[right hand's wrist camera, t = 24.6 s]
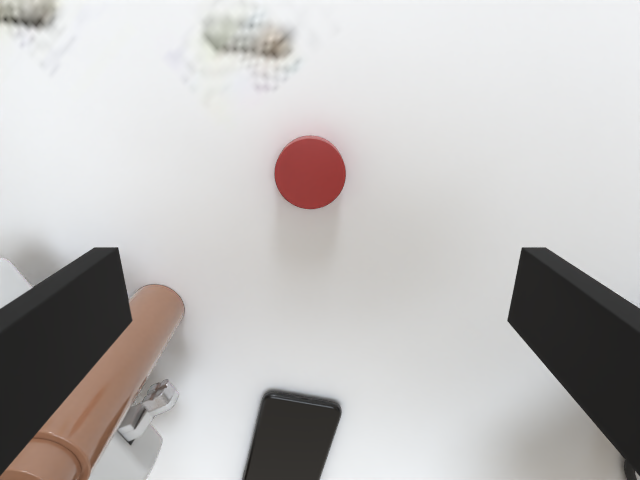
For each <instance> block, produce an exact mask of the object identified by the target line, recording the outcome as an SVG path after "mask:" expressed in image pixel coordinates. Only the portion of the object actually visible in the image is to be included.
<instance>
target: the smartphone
mask: <svg viewBox="0 0 640 480" xmlns="http://www.w3.org/2000/svg"><path fill="white" fill-rule="evenodd" d="M341 413H342V411H341V407H340V406H339V405H338V404H337V403H334V402H330V401H325V400H319V399H313V398H308V397H302V396H296V395H291V394H285V393H279V392H268V393H266V394H265V395H264V396H263V398H262V400H261V404H260V408H259V413H258V417H257V421H256V425H255V429H254V434H253V438H252V442H251V446H250V450H249V455H248V459H247V463H246V467H245V470H244V474H243V479H242V480H320V477H321V474H322V471H323V468H324V465H325V462H326V459H327V456H328V453H329V450H330V447H331V444H332V441H333V438H334V435H335V432H336V429H337V426H338V423H339V421H340V418H341Z"/></svg>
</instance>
